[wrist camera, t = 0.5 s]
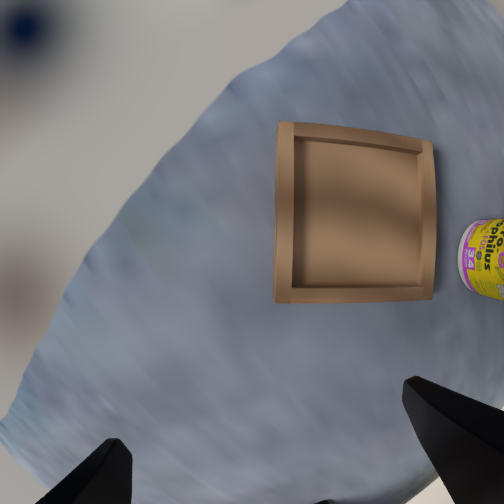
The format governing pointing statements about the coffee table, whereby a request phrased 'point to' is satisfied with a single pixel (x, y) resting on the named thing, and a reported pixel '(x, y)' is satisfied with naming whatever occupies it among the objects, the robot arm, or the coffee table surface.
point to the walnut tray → (353, 216)
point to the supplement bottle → (483, 257)
